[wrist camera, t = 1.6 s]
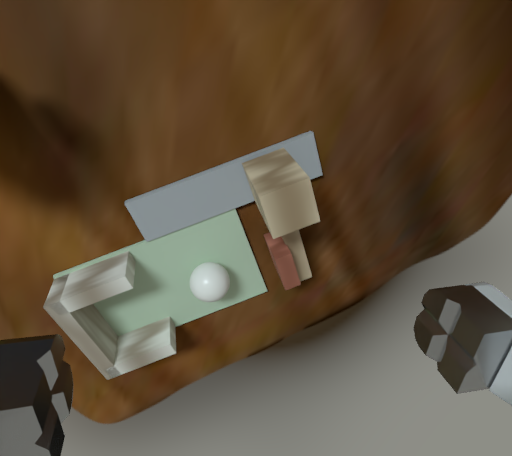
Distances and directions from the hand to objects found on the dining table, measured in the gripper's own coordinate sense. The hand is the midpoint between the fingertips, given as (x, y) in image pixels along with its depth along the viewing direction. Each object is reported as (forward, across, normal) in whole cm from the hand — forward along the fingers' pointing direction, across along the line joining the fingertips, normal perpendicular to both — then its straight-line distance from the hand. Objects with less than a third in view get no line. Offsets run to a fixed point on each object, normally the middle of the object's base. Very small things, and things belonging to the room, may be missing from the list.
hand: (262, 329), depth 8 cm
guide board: (+26, -4, +7) cm, 27 cm away
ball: (+24, -2, +17) cm, 29 cm away
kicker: (+25, -9, +10) cm, 29 cm away
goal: (+26, +8, +20) cm, 34 cm away
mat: (+27, +2, +18) cm, 32 cm away
